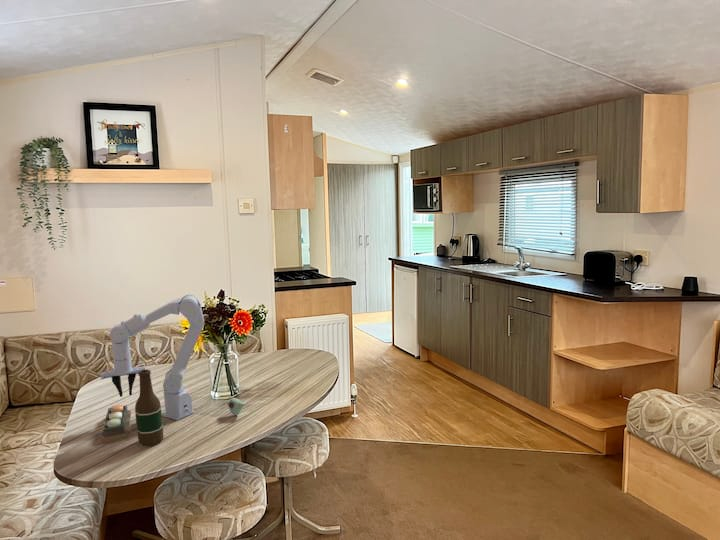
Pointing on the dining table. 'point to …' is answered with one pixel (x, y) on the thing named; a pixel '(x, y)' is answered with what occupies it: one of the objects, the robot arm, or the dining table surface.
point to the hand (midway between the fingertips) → (126, 395)
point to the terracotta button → (117, 408)
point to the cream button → (115, 415)
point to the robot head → (235, 405)
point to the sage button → (113, 423)
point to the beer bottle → (148, 413)
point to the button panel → (118, 431)
